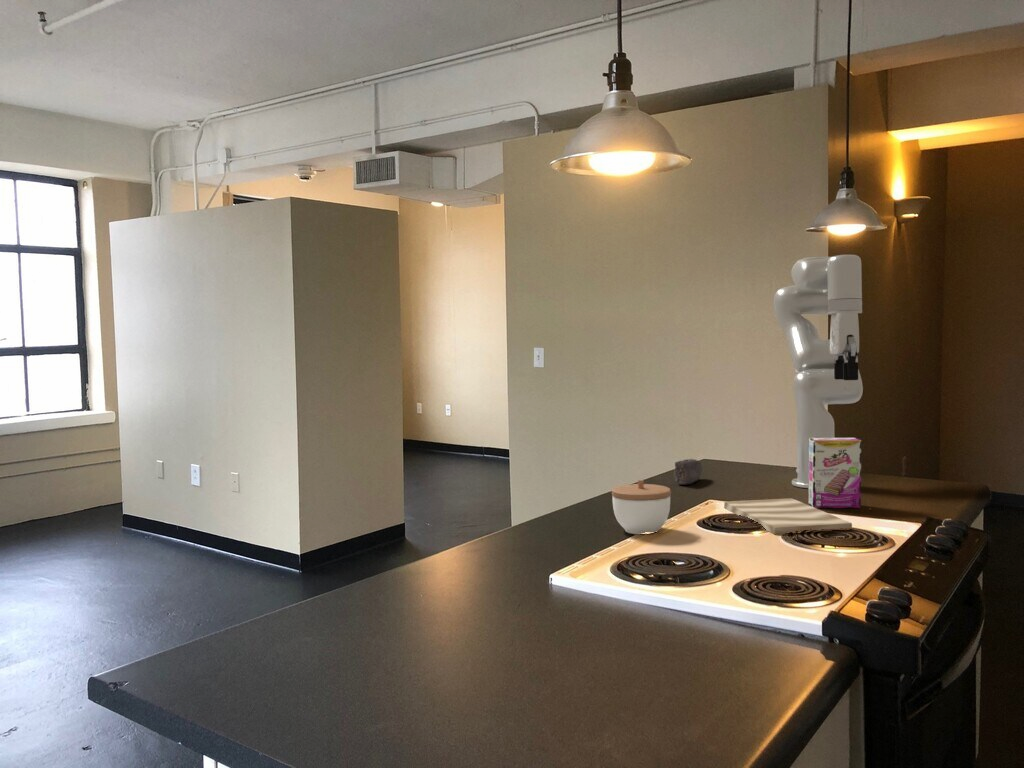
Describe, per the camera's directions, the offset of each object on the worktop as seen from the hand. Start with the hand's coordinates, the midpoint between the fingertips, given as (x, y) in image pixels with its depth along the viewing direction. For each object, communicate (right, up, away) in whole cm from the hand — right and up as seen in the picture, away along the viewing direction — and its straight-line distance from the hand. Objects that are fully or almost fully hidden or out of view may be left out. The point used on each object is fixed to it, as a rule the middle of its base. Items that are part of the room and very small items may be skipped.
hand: (846, 379), depth 196 cm
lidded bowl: (-51, -33, -18) cm, 64 cm away
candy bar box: (-2, -31, +1) cm, 31 cm away
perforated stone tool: (-29, -29, +39) cm, 56 cm away
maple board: (-18, -31, -10) cm, 38 cm away
